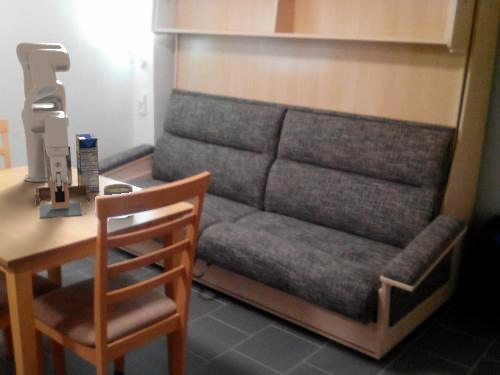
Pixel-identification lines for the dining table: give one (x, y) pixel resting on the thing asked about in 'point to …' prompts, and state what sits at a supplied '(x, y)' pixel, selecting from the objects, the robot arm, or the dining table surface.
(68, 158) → the coffee box
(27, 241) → the dining table surface
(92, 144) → the beverage box
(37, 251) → the dining table surface
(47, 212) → the mat
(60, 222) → the dining table surface
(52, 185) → the block
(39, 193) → the frame
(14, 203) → the dining table surface
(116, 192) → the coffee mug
